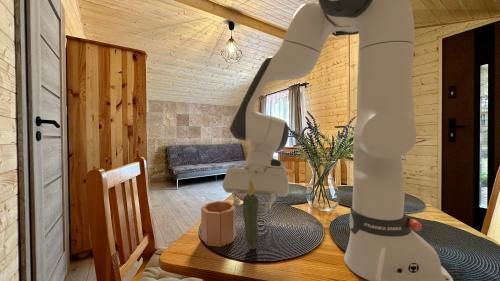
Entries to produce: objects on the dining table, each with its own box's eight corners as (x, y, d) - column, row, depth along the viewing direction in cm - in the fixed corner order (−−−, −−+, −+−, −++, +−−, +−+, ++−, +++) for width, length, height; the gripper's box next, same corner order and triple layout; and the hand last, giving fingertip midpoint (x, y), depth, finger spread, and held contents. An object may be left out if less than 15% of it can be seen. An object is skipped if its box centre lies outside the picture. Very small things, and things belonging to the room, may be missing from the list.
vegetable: (257, 254, 64) (256, 183, 62) (241, 253, 64) (240, 182, 63) (259, 246, 68) (259, 179, 66) (245, 244, 69) (244, 178, 67)
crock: (238, 231, 77) (238, 202, 76) (230, 247, 67) (230, 214, 66) (209, 228, 79) (209, 200, 78) (198, 244, 69) (197, 212, 68)
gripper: (225, 159, 75) (214, 199, 67) (289, 162, 70) (286, 205, 62) (230, 170, 80) (220, 208, 71) (290, 173, 75) (287, 215, 66)
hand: (251, 207), depth 66 cm, fingers open, 8 cm apart
